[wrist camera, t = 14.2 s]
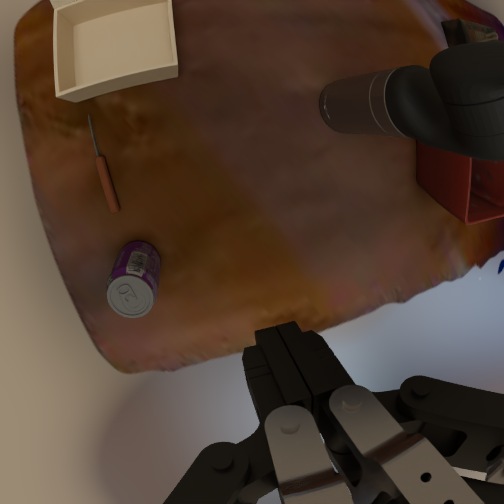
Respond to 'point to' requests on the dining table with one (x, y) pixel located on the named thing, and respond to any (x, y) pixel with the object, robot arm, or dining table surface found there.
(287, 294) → the dining table surface
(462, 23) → the dark brown block
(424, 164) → the plant pot
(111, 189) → the screwdriver
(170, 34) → the cardboard box
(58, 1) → the box lid
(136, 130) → the dining table surface
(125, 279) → the beverage can
